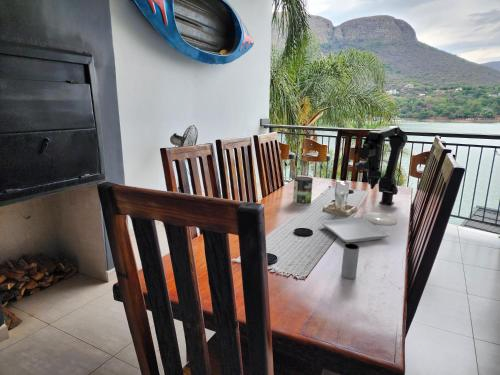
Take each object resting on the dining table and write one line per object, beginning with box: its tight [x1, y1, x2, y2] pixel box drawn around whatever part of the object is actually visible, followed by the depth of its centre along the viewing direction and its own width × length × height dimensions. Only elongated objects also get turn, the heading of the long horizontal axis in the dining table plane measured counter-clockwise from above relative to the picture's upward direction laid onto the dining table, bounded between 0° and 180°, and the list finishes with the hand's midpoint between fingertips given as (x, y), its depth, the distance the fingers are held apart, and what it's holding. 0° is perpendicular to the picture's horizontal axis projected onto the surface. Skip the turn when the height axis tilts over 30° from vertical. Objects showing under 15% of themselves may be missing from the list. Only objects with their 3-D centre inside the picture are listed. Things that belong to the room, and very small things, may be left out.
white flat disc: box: [361, 212, 398, 226], centre depth 152 cm, size 16×16×1 cm
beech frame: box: [322, 201, 358, 217], centre depth 164 cm, size 13×13×2 cm
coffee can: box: [292, 176, 314, 206], centre depth 175 cm, size 10×10×14 cm
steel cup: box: [333, 180, 350, 211], centre depth 162 cm, size 7×7×15 cm
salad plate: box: [320, 216, 391, 243], centre depth 134 cm, size 21×21×3 cm
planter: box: [340, 242, 360, 280], centre depth 99 cm, size 4×4×10 cm
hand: (370, 186), depth 162 cm, fingers open, 9 cm apart
